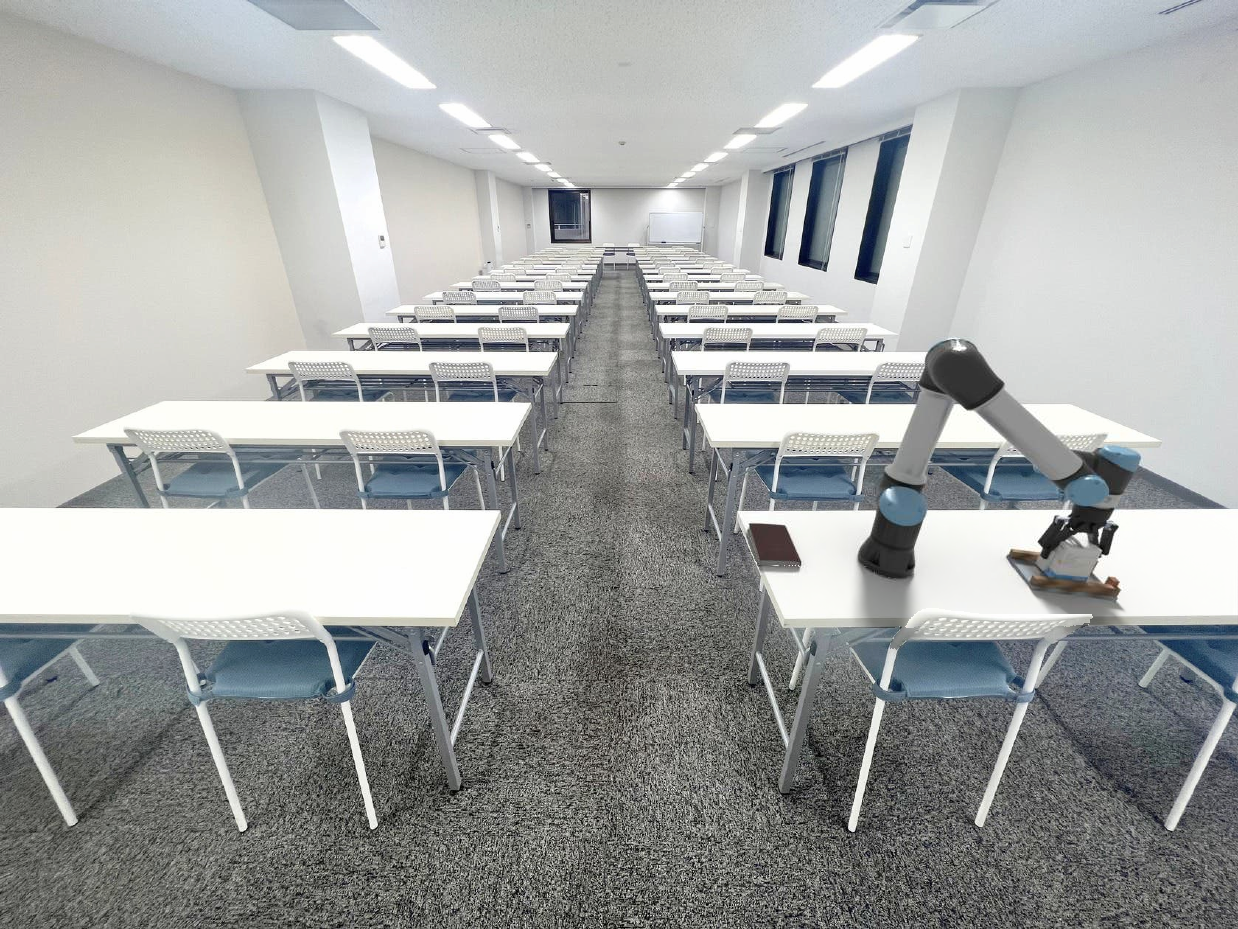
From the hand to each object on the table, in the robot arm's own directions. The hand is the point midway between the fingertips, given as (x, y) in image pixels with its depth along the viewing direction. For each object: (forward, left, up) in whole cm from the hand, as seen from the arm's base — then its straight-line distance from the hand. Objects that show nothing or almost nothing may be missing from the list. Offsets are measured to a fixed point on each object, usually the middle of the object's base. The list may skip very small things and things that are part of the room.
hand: (1060, 569), depth 136 cm
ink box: (0, 0, -2) cm, 2 cm away
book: (-80, -4, -4) cm, 80 cm away
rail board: (0, 0, -3) cm, 3 cm away
